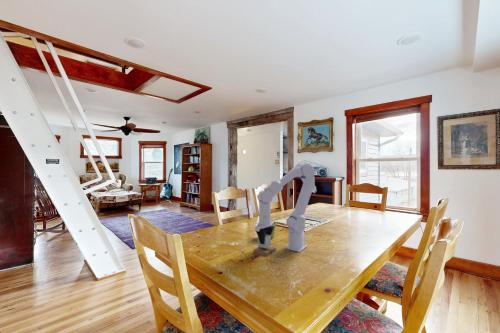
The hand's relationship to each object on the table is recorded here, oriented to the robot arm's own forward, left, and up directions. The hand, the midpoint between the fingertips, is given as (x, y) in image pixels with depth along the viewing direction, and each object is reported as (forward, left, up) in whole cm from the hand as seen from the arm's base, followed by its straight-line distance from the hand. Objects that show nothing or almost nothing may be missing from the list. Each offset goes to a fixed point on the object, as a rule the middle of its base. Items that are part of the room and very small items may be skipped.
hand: (264, 242), depth 114 cm
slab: (0, 0, -5) cm, 5 cm away
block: (0, 0, -2) cm, 2 cm away
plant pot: (-19, -10, -5) cm, 22 cm away
